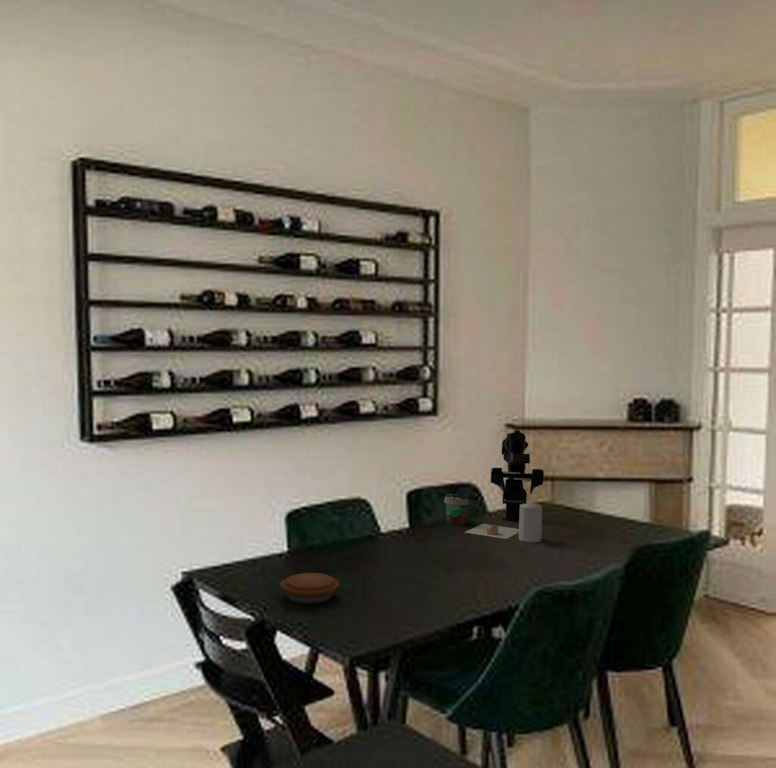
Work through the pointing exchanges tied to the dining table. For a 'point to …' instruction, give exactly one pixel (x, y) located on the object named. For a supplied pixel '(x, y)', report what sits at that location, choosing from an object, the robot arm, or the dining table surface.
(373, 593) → the dining table surface
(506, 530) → the placemat
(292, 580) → the pie
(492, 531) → the brown short rounded piece
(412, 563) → the dining table surface
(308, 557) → the dining table surface
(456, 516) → the food container
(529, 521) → the cover cup
